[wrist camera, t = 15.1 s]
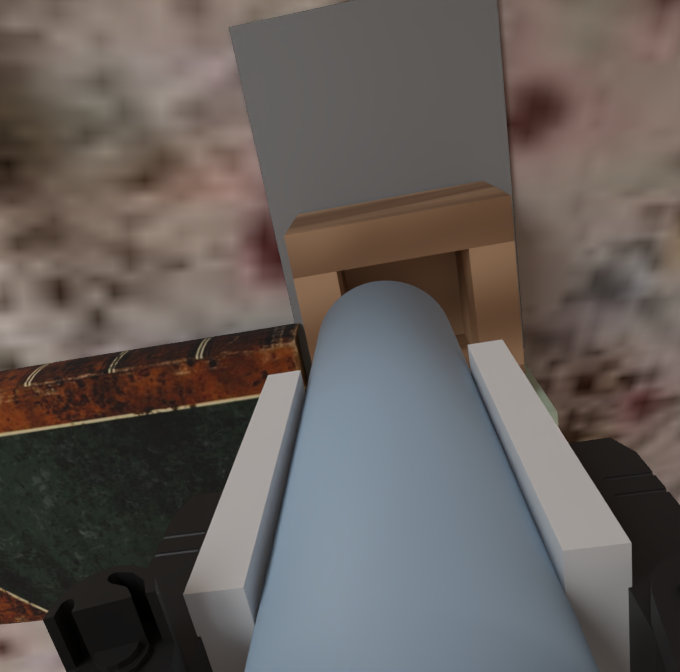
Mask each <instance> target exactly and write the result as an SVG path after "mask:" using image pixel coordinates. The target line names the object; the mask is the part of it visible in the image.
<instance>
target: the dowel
mask: <svg viewBox="0 0 680 672" xmlns="http://www.w3.org/2000/svg"><path fill="white" fill-rule="evenodd" d="M245 672H600V671H599V668H598V666H597V664H596V661H595V659H594V657H593V654H592V652H591V650H590V647H589V645H588V643H587V640H586V638H585V636H584V633H583V631H582V629H581V627H580V624H579V622H578V620H577V617H576V615H575V613H574V610H573V608H572V606H571V604H570V602H569V600H568V598H567V596H566V595H565V592H564V590H563V588H562V585H561V583H560V581H559V578H558V576H557V574H556V571H555V569H554V566H553V564H552V562H551V559H550V557H549V555H548V552H547V550H546V548H545V545H544V543H543V541H542V538H541V536H540V534H539V531H538V529H537V527H536V524H535V522H534V520H533V517H532V515H531V513H530V510H529V508H528V506H527V503H526V501H525V499H524V496H523V494H522V492H521V489H520V487H519V485H518V482H517V480H516V478H515V475H514V473H513V471H512V468H511V466H510V464H509V461H508V459H507V457H506V454H505V452H504V450H503V447H502V445H501V443H500V440H499V438H498V435H497V433H496V431H495V428H494V426H493V424H492V421H491V419H490V417H489V414H488V412H487V410H486V407H485V405H484V403H483V400H482V398H481V396H480V393H479V391H478V389H477V386H476V384H475V382H474V379H473V377H472V375H471V371H470V369H469V366H468V364H467V362H466V359H465V357H464V355H463V353H462V350H461V348H460V346H459V343H458V341H457V339H456V336H455V334H454V332H453V329H452V327H451V325H450V322H449V320H448V318H447V316H446V314H445V312H444V311H443V309H442V308H441V306H440V305H439V304H438V303H437V302H436V301H435V300H434V299H433V298H432V297H431V296H430V295H428V294H427V293H426V292H424V291H422V290H421V289H419V288H417V287H415V286H412V285H410V284H406V283H403V282H397V281H374V282H370V283H366V284H363V285H360V286H357V287H355V288H353V289H352V290H350V291H348V292H347V293H345V294H344V295H342V296H341V297H340V298H339V299H338V300H337V301H336V302H335V303H334V304H333V305H332V306H331V308H330V309H329V310H328V312H327V314H326V315H325V317H324V319H323V322H322V324H321V327H320V331H319V335H318V339H317V344H316V349H315V353H314V358H313V362H312V367H311V371H310V376H309V380H308V385H307V389H306V394H305V399H304V403H303V408H302V412H301V417H300V421H299V426H298V430H297V435H296V440H295V444H294V449H293V453H292V458H291V462H290V467H289V471H288V476H287V480H286V485H285V490H284V494H283V499H282V503H281V508H280V512H279V517H278V521H277V526H276V531H275V535H274V540H273V544H272V549H271V553H270V558H269V562H268V567H267V571H266V576H265V581H264V585H263V590H262V594H261V599H260V603H259V608H258V612H257V617H256V622H255V626H254V631H253V635H252V640H251V644H250V649H249V653H248V658H247V662H246V667H245Z"/></svg>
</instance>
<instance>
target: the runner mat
mask: <svg viewBox="0 0 680 672" xmlns="http://www.w3.org/2000/svg"><path fill="white" fill-rule="evenodd" d="M229 31H230V35H231V40H232V44H233V49H234V53H235V57H236V62H237V66H238V71H239V75H240V80H241V84H242V89H243V93H244V98H245V102H246V107H247V111H248V116H249V120H250V124H251V129H252V133H253V138H254V142H255V147H256V151H257V156H258V160H259V165H260V169H261V174H262V178H263V183H264V187H265V191H266V196H267V200H268V205H269V209H270V214H271V218H272V223H273V227H274V232H275V236H276V241H277V245H278V250H279V254H280V258H281V263H282V267H283V272H284V276H285V281H286V285H287V290H288V294H289V299H290V303H291V308H292V312H293V316H294V321H295V324H298V323H299V324H300V325H299V328H298V331H297V334H298V339H299V343H300V348H301V352H302V357H303V361H304V366H305V370H306V375H307V379H308V380H309V376H310V371H311V367H312V362H311V357H310V353H309V348H308V343H307V339H306V334H305V330H304V325H303V321H302V316H301V311H300V307H299V302H298V298H297V293H296V289H295V284H294V279H293V275H292V270H291V266H290V261H289V257H288V252H287V247H286V243H285V238H284V235H285V234H286V232H287V230H288V229H289V227H290V226H291V224H292V223H293V221H294V219H295V218H296V216H297V215H298V214H303V213H308V212H314V211H319V210H325V209H330V208H336V207H341V206H347V205H352V204H358V203H363V202H369V201H374V200H380V199H385V198H390V197H396V196H401V195H407V194H412V193H418V192H423V191H429V190H434V189H440V188H445V187H451V186H456V185H462V184H467V183H473V182H478V181H485V182H487V183H489V184H491V185H493V186H494V187H496V188H498V189H500V190H502V191H504V192H506V193H508V194H509V195H511V202H512V215H513V227H514V240H515V253H516V265H517V278H518V290H519V303H520V315H521V328H522V341H523V348H524V336H523V324H522V311H521V298H520V286H519V273H518V260H517V247H516V235H515V222H514V209H513V197H512V184H511V171H510V158H509V146H508V133H507V120H506V108H505V95H504V82H503V69H502V57H501V44H500V31H499V18H498V6H497V0H353V1H349V2H344V3H339V4H335V5H330V6H325V7H321V8H316V9H312V10H307V11H302V12H298V13H293V14H288V15H284V16H279V17H275V18H270V19H265V20H261V21H256V22H251V23H247V24H242V25H238V26H233V27H229Z"/></svg>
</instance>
